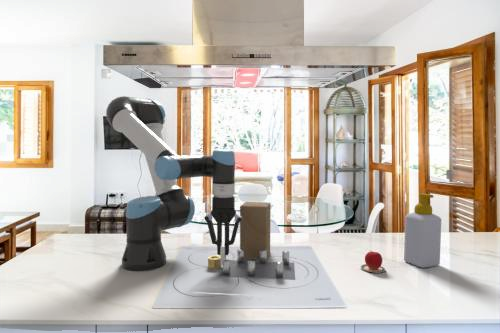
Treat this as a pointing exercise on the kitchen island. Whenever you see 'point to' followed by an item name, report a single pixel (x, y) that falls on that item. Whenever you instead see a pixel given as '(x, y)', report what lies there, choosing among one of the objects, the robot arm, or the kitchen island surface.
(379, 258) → the apple
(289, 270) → the grey flat plate
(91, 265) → the kitchen island surface
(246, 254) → the wooden block
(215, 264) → the nut
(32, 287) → the kitchen island surface
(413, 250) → the soap bottle
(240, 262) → the set of silver pegs
